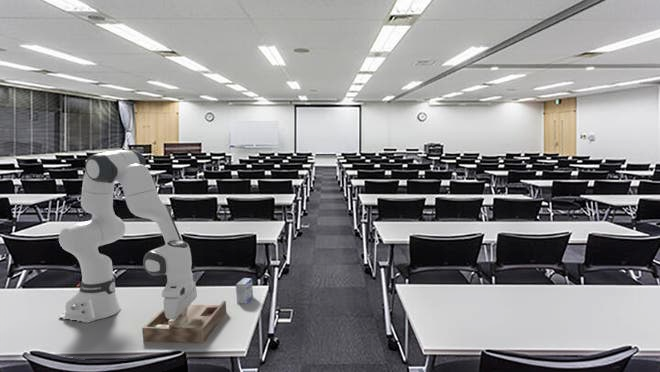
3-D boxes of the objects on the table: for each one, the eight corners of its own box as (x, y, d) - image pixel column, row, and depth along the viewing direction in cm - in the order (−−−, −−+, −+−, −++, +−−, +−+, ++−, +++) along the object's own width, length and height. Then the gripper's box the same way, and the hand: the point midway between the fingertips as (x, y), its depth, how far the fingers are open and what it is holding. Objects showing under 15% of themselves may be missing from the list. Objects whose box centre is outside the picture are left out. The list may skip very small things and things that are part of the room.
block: (169, 331, 157) (168, 321, 156) (175, 325, 162) (174, 314, 161) (182, 331, 156) (181, 321, 156) (188, 325, 161) (187, 315, 161)
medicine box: (246, 304, 187) (245, 284, 186) (236, 303, 188) (235, 284, 187) (253, 296, 195) (252, 278, 193) (243, 296, 195) (242, 277, 194)
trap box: (143, 341, 156) (142, 327, 156) (174, 311, 181) (173, 299, 180) (202, 343, 154) (202, 329, 153) (226, 312, 179) (225, 300, 178)
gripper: (184, 274, 172) (186, 308, 174) (159, 294, 152) (162, 332, 154) (199, 274, 171) (201, 308, 173) (177, 295, 151) (179, 332, 153)
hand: (183, 319), depth 163 cm, fingers closed
